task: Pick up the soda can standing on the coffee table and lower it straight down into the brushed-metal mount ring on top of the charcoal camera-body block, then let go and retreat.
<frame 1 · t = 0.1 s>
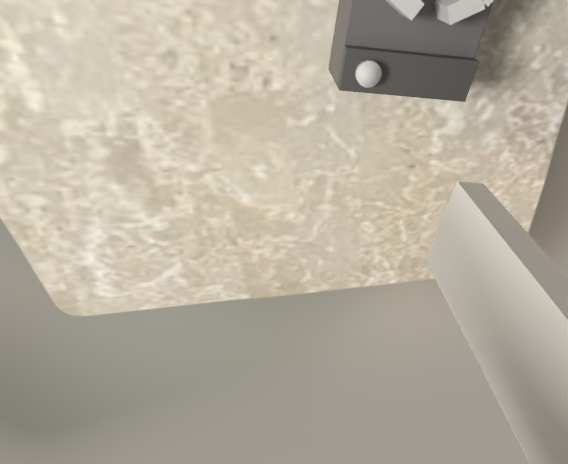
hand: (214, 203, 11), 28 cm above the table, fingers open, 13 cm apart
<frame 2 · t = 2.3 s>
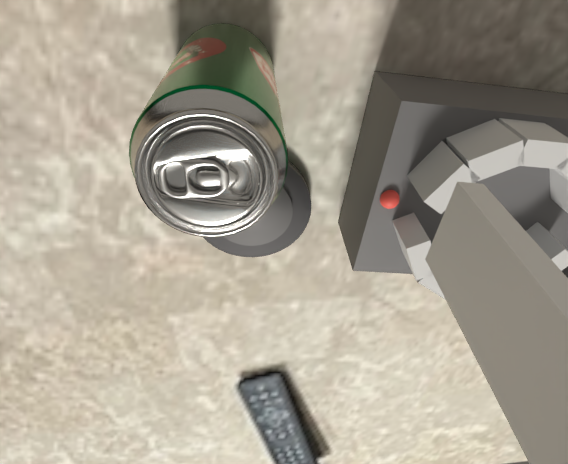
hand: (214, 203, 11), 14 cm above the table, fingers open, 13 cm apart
lens cap: (251, 203, 27), on the table
soda can: (226, 72, 23), on the table
camera body: (476, 166, 27), on the table
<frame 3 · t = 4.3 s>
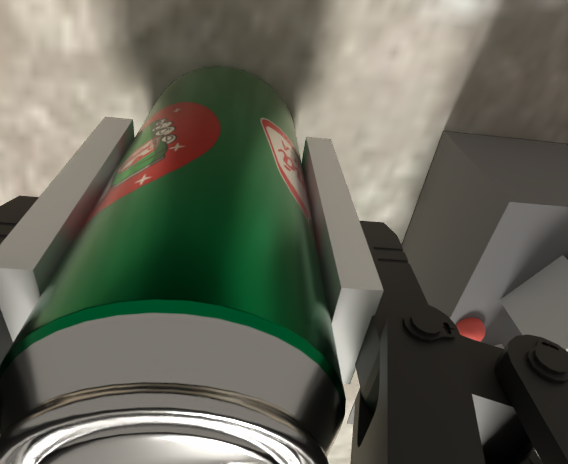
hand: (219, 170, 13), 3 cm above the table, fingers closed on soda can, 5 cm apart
soda can: (225, 132, 15), on the table, touching gripper
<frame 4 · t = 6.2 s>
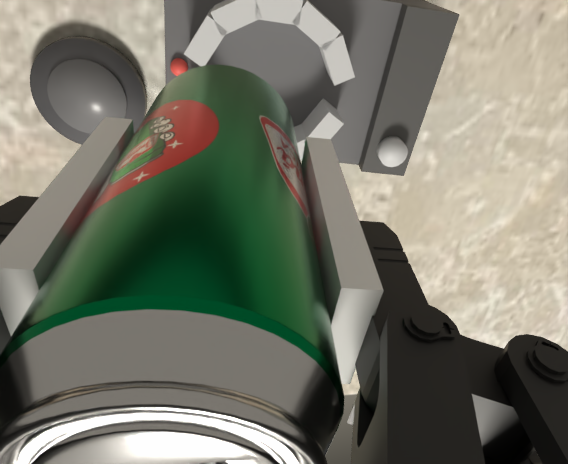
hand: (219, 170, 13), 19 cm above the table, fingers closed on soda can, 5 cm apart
lens cap: (92, 93, 30), on the table
soda can: (224, 131, 15), point 16 cm above the table, touching gripper
camera body: (293, 62, 30), on the table
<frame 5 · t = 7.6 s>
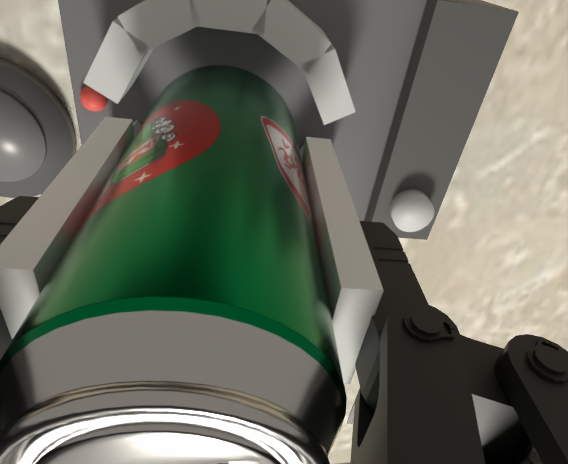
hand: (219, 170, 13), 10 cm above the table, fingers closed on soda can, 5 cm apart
lens cap: (0, 128, 22), on the table
soda can: (225, 131, 15), point 7 cm above the table, touching gripper
camera body: (271, 81, 21), on the table
when the fingers open (9 cm above the table, at t = 8.4 s): soda can drops 1 cm, resting on camera body.
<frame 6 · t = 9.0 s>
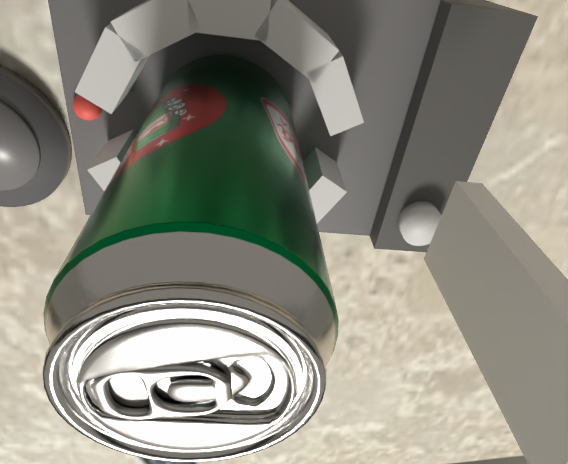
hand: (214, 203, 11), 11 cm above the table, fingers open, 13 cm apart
soda can: (226, 118, 16), point 5 cm above the table, touching camera body
camera body: (274, 87, 21), on the table
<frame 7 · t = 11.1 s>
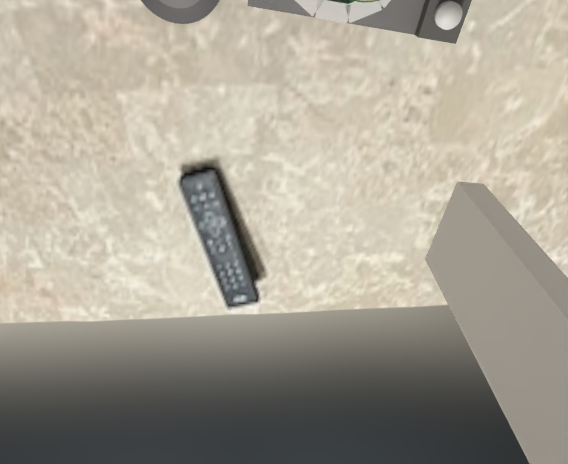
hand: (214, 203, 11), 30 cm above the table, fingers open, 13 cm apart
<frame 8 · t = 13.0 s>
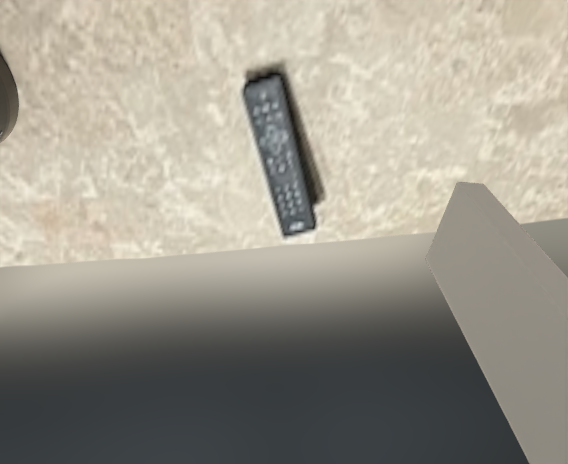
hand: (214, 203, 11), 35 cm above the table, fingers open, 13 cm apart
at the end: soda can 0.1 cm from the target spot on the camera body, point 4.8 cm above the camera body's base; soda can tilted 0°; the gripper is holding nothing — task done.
